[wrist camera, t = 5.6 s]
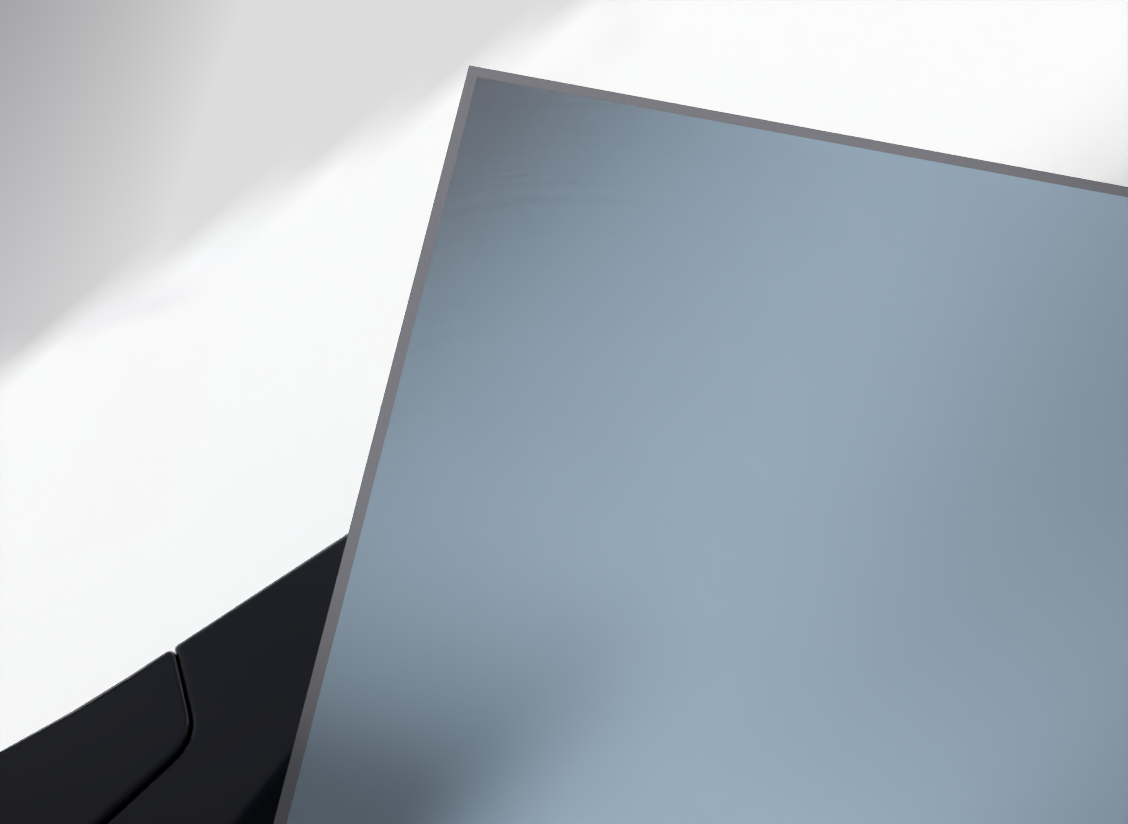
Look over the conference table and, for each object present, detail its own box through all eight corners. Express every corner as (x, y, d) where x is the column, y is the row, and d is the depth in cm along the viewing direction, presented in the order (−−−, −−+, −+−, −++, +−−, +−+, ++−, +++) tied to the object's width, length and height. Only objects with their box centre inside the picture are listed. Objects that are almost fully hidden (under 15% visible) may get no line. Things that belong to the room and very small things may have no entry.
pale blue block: (868, 535, 14) (1483, 251, 5) (805, 978, 13) (1472, 1854, 3) (536, 467, 15) (469, 63, 5) (442, 895, 13) (101, 1491, 4)
